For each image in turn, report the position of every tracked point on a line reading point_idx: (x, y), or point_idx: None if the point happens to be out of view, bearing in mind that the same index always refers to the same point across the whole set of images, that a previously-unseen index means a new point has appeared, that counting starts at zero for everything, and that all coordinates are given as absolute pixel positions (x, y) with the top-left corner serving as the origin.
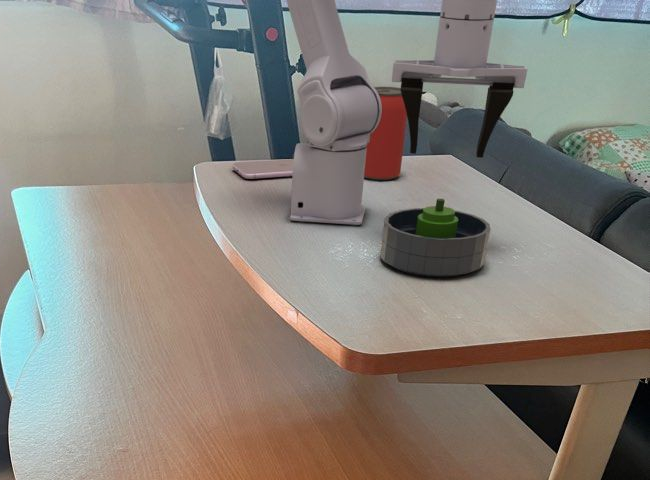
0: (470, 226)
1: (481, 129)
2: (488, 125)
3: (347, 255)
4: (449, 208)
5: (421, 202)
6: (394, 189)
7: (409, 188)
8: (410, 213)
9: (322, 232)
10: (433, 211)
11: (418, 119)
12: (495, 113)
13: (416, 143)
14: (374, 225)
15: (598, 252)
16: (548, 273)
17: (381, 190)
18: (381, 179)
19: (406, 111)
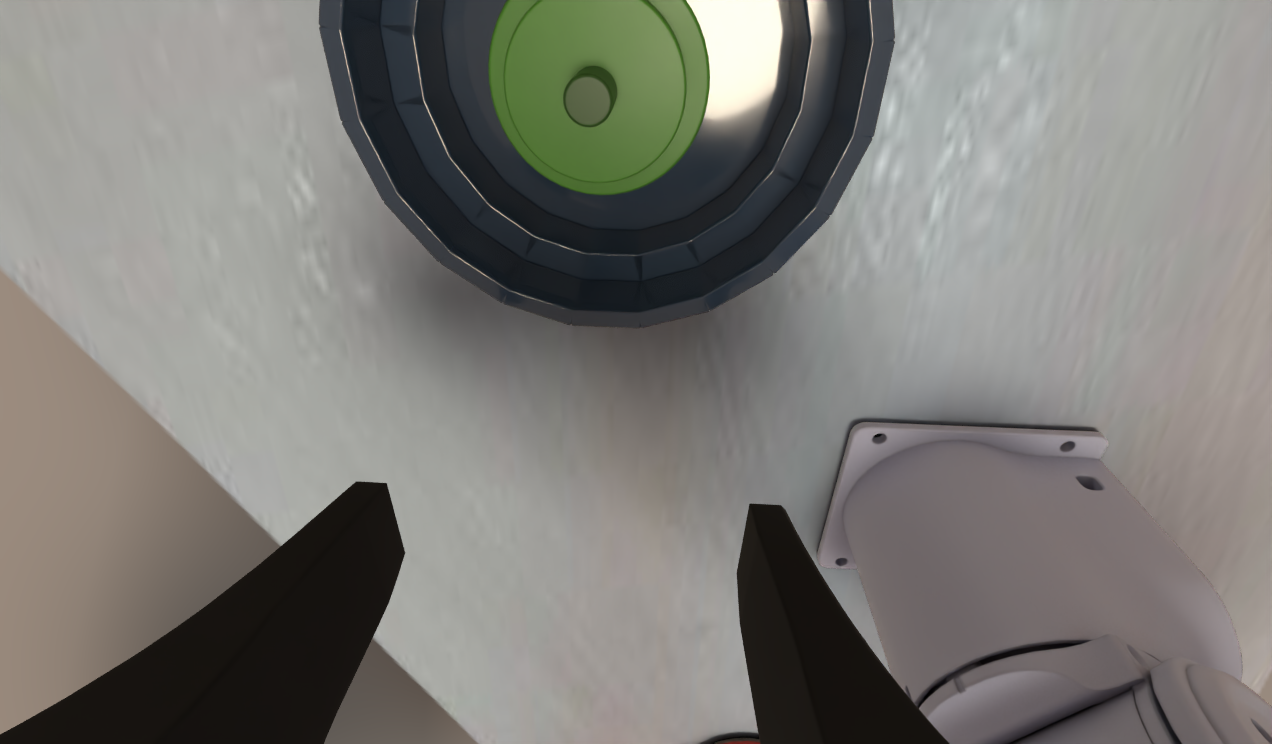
0: (453, 221)
1: (344, 670)
2: (231, 621)
3: (973, 84)
4: (538, 145)
5: (641, 622)
6: (710, 692)
7: (670, 700)
8: (721, 279)
9: (1008, 346)
10: (627, 61)
11: (805, 670)
12: (112, 701)
13: (764, 539)
14: (802, 437)
15: (55, 296)
16: (134, 8)
17: (745, 684)
18: (740, 738)
19: (940, 737)
